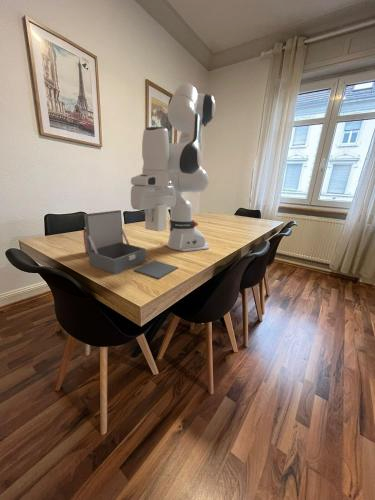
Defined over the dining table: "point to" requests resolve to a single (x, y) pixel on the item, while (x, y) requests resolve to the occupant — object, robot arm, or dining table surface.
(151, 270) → the mat
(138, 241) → the dining table surface
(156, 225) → the block
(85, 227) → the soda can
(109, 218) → the case
